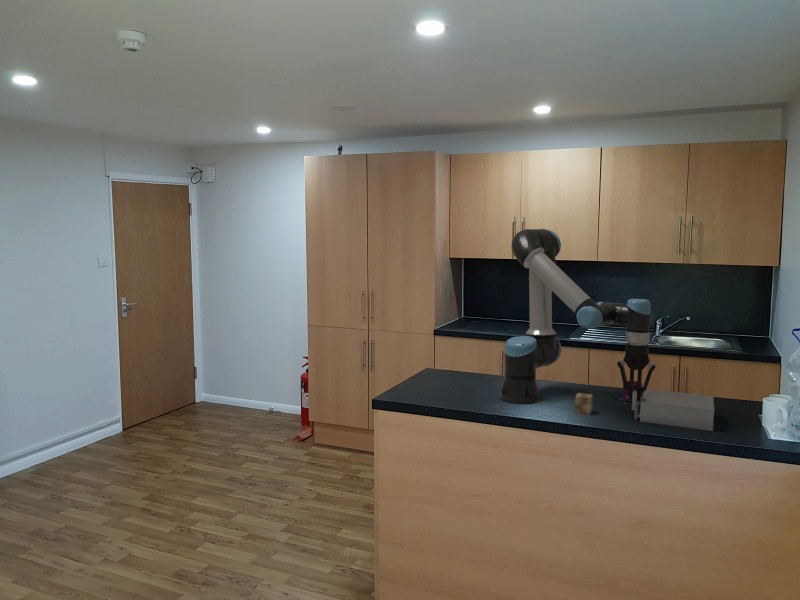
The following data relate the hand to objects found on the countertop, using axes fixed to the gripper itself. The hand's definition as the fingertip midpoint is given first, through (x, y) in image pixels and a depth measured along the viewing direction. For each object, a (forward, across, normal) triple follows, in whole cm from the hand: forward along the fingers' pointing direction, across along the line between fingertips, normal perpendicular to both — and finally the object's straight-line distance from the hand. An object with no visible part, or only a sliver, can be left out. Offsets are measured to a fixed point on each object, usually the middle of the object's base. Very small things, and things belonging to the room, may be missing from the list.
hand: (634, 409), depth 213 cm
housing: (+2, +14, 0) cm, 14 cm away
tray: (+1, +10, 0) cm, 10 cm away
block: (+2, -16, -6) cm, 17 cm away
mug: (+2, -2, +19) cm, 19 cm away
